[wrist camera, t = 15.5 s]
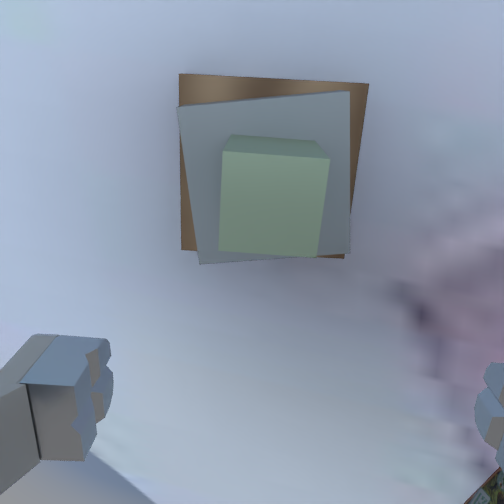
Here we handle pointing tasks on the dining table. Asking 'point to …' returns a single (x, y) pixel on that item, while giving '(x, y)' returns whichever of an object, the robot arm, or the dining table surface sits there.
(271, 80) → the walnut base slab
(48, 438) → the robot arm
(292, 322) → the dining table surface
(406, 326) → the dining table surface
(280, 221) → the sage block
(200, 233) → the grey top slab
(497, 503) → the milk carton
